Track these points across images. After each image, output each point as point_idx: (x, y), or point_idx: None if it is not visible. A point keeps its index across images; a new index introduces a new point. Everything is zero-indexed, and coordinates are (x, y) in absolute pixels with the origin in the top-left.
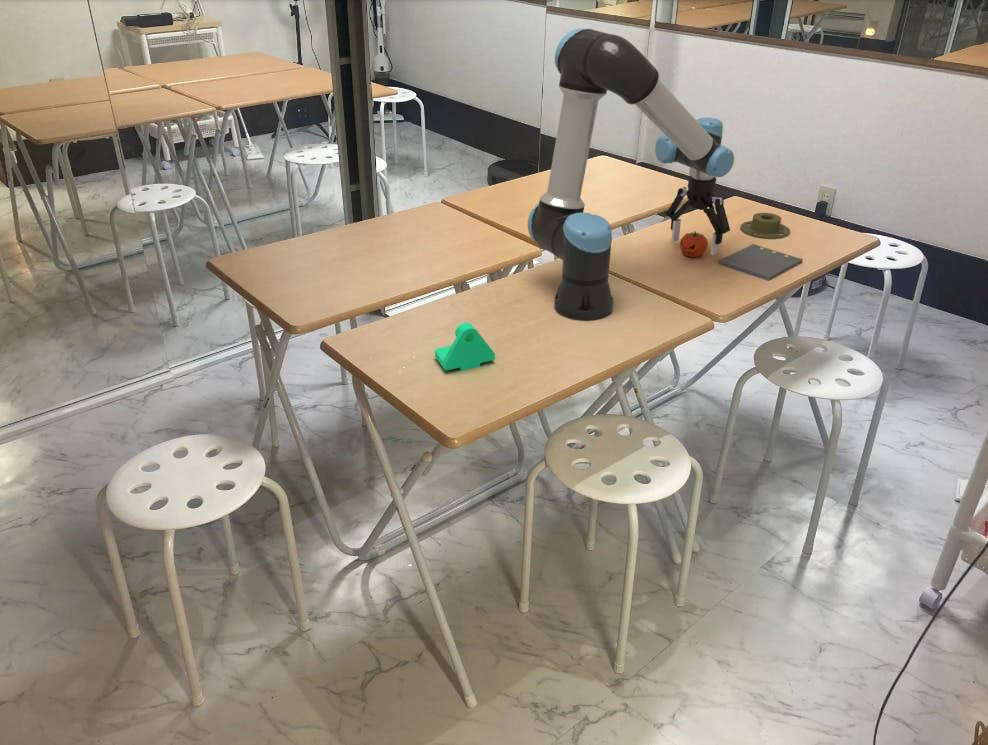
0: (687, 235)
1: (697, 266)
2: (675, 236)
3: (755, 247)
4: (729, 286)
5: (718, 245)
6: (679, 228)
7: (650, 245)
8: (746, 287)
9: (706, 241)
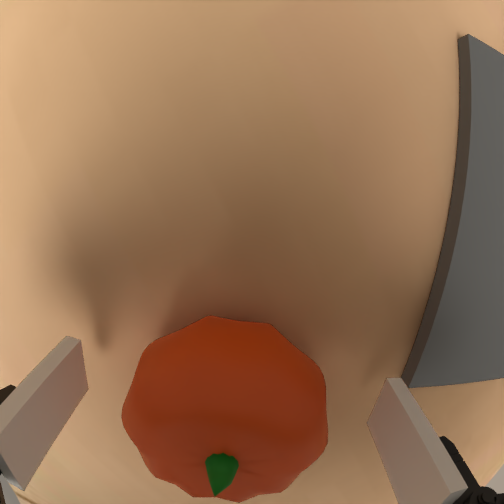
0: (174, 480)
1: None
2: (70, 397)
3: (497, 81)
4: None
5: (420, 412)
6: (37, 395)
7: (18, 360)
8: (494, 442)
9: (323, 421)
